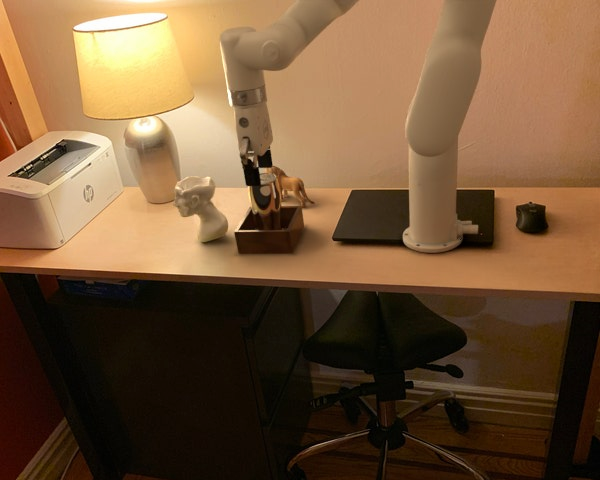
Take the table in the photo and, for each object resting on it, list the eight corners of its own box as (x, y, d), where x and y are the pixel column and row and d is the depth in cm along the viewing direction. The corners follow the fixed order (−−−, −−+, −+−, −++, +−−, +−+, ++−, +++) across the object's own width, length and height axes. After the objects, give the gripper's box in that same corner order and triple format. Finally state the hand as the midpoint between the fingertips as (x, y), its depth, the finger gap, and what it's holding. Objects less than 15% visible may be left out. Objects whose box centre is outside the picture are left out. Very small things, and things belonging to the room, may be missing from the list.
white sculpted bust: (235, 241, 137) (223, 181, 129) (189, 255, 135) (173, 194, 126) (224, 226, 145) (211, 168, 137) (179, 238, 142) (164, 180, 134)
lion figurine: (263, 201, 155) (257, 168, 150) (275, 193, 158) (270, 161, 153) (309, 209, 147) (305, 175, 142) (321, 201, 150) (317, 167, 145)
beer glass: (283, 247, 132) (273, 184, 124) (253, 247, 134) (242, 185, 126) (290, 232, 138) (281, 171, 130) (261, 232, 140) (250, 173, 131)
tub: (304, 226, 140) (301, 205, 136) (292, 253, 129) (289, 231, 126) (253, 227, 143) (249, 206, 140) (238, 253, 132) (233, 231, 129)
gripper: (253, 108, 110) (266, 193, 120) (276, 82, 124) (285, 160, 134) (216, 109, 112) (231, 193, 121) (242, 84, 126) (254, 161, 135)
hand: (259, 176), depth 127 cm, fingers open, 9 cm apart
